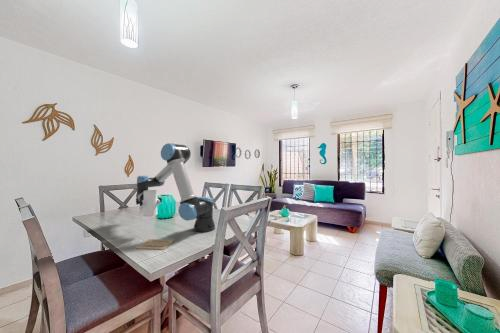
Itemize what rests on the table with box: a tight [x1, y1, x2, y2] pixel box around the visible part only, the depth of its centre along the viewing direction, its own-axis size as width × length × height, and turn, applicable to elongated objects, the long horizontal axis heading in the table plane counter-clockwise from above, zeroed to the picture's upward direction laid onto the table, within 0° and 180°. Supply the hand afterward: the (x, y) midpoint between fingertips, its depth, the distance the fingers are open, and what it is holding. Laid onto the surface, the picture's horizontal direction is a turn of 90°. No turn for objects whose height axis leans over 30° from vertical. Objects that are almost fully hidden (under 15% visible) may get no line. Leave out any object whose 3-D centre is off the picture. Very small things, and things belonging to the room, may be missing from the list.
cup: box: [142, 189, 158, 218], centre depth 129 cm, size 8×8×16 cm
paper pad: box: [135, 238, 175, 250], centre depth 115 cm, size 16×13×1 cm
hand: (152, 203), depth 125 cm, fingers closed on cup, 8 cm apart
